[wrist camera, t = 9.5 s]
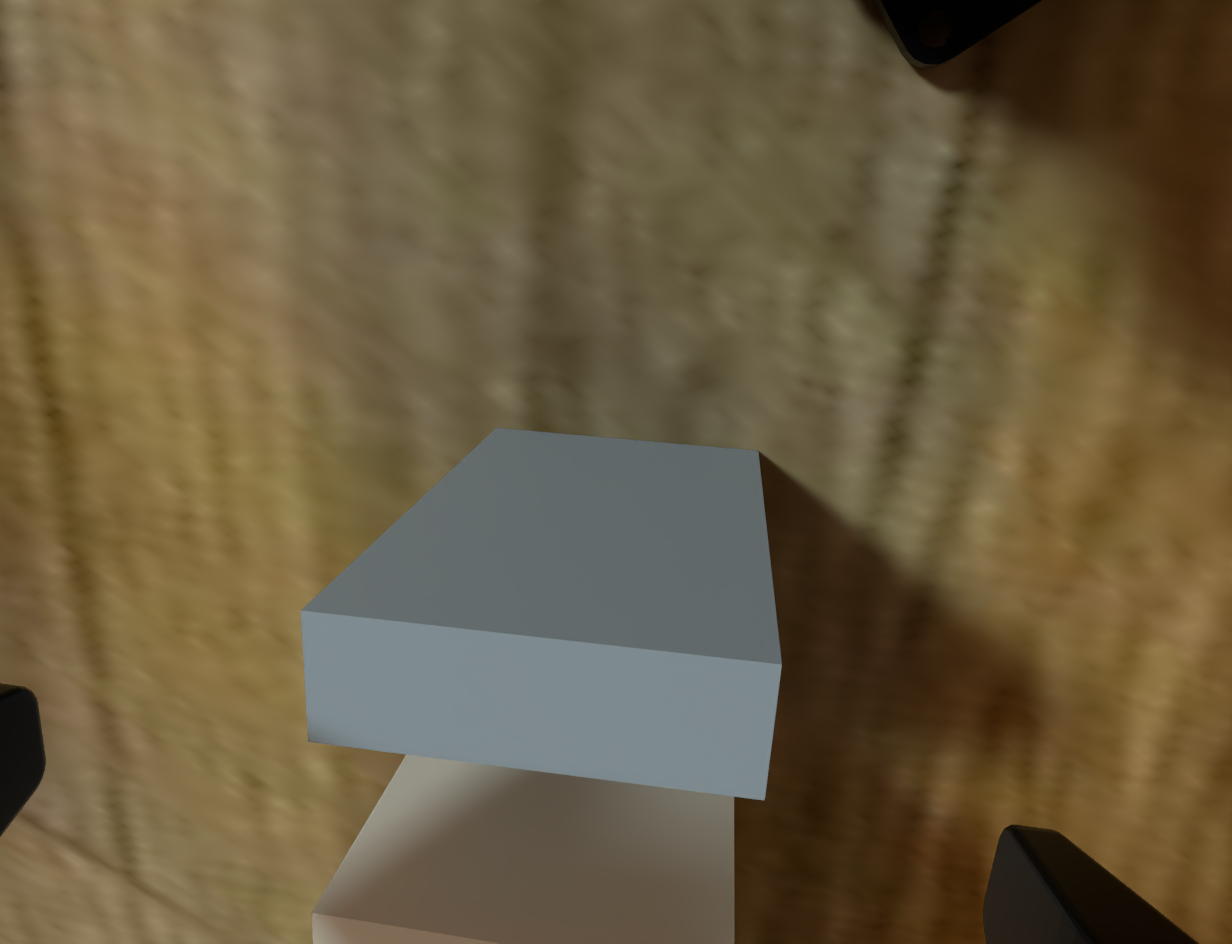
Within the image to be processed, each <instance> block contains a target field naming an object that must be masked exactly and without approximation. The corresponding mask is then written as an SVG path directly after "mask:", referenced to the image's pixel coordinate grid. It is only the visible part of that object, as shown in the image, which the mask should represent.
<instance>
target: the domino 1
mask: <svg viewBox="0 0 1232 944" xmlns="http://www.w3.org/2000/svg"><path fill="white" fill-rule="evenodd" d="M301 621H302V639H303V656H304V674H305V691H306V709H307V727H308V742H314V743H322V744H330V745H337V746H345V747H353V748H361V749H368V750H376V751H384V752H392V753H399V754H407V755H415V756H423V757H430V758H438V759H446V760H454V761H462V762H469V763H477V764H485V765H493V766H500V767H508V768H516V769H524V770H531V771H539V772H547V773H555V774H563V775H570V776H578V777H586V778H594V779H601V780H609V781H617V782H625V783H632V784H640V785H648V786H656V787H664V788H671V789H679V790H687V791H695V792H702V793H710V794H718V795H726V796H733V797H741V798H749V799H757V800H764V801H765V794H766V786H767V778H768V771H769V763H770V755H771V747H772V739H773V731H774V723H775V715H776V707H777V700H778V692H779V684H780V676H781V668H782V661H781V652H780V643H779V634H778V625H777V616H776V606H775V597H774V588H773V579H772V570H771V561H770V552H769V543H768V534H767V525H766V516H765V507H764V498H763V489H762V480H761V471H760V462H759V453H758V451H754V450H743V449H731V448H720V447H708V446H697V445H685V444H674V443H662V442H651V441H639V440H628V439H617V438H605V437H594V436H582V435H571V434H559V433H548V432H536V431H525V430H513V429H502V428H496V429H495V430H494V431H493V432H492V433H491V434H490V435H488V436H487V437H486V438H485V439H484V440H483V441H482V442H481V443H480V444H479V445H478V446H477V447H476V448H475V449H473V450H472V451H471V452H470V453H469V454H468V455H467V456H466V457H465V458H464V459H463V460H462V461H461V462H460V463H458V464H457V465H456V466H455V467H454V468H453V469H452V470H451V471H450V472H449V473H448V474H447V475H446V476H445V477H443V478H442V479H441V480H440V481H439V482H438V483H437V484H436V485H435V486H434V487H433V488H432V489H431V490H430V491H428V492H427V493H426V494H425V495H424V496H423V497H422V498H421V499H420V500H419V501H418V502H417V503H416V504H415V505H413V506H412V507H411V508H410V509H409V510H408V511H407V512H406V513H405V514H404V515H403V516H402V517H401V518H400V519H398V520H397V521H396V522H395V523H394V524H393V525H392V526H391V527H390V528H389V529H388V530H387V531H386V532H385V533H383V534H382V535H381V536H380V537H379V538H378V539H377V540H376V541H375V542H374V543H373V544H372V545H371V546H370V547H368V548H367V549H366V550H365V551H364V552H363V553H362V554H361V555H360V556H359V557H358V558H357V559H356V560H355V561H353V562H352V563H351V564H350V565H349V566H348V567H347V568H346V569H345V570H344V571H343V572H342V573H341V574H340V575H338V576H337V577H336V578H335V579H334V580H333V581H332V582H331V583H330V584H329V585H328V586H327V587H326V588H325V589H323V590H322V591H321V592H320V593H319V594H318V595H317V596H316V597H315V598H314V599H313V600H312V601H311V602H310V603H308V604H307V605H306V606H305V607H304V608H303V609H302V610H301Z"/></svg>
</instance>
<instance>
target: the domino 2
mask: <svg viewBox="0 0 1232 944" xmlns="http://www.w3.org/2000/svg"><path fill="white" fill-rule="evenodd" d="M312 931H313V944H734V797H733V796H726V795H718V794H710V793H702V792H695V791H687V790H679V789H671V788H664V787H656V786H648V785H640V784H632V783H625V782H617V781H609V780H601V779H594V778H586V777H578V776H570V775H563V774H555V773H547V772H539V771H531V770H524V769H516V768H508V767H500V766H493V765H485V764H477V763H469V762H462V761H454V760H446V759H438V758H430V757H423V756H415V755H407V754H406V756H405V758H404V759H403V761H402V763H401V765H400V766H399V768H398V770H397V771H396V773H395V775H394V776H393V778H392V780H391V781H390V783H389V785H388V786H387V788H386V790H385V791H384V793H383V795H382V796H381V798H380V800H379V801H378V803H377V805H376V806H375V808H374V810H373V811H372V813H371V815H370V816H369V818H368V820H367V821H366V823H365V825H364V826H363V828H362V830H361V831H360V833H359V835H358V836H357V838H356V840H355V841H354V843H353V845H352V846H351V848H350V850H349V851H348V853H347V855H346V856H345V858H344V860H343V861H342V863H341V865H340V866H339V868H338V870H337V871H336V873H335V875H334V876H333V878H332V880H331V881H330V883H329V885H328V886H327V888H326V890H325V891H324V893H323V895H322V896H321V898H320V900H319V901H318V903H317V905H316V906H315V908H314V910H313V911H312Z"/></svg>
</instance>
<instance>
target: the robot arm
mask: <svg viewBox="0 0 1232 944" xmlns="http://www.w3.org/2000/svg"><path fill="white" fill-rule="evenodd" d="M873 1H874V3H875V5H876V7H877V8H878V10H879V12H880V14H881V16H882V18H883V20H884V22H885V24H886V26H887V28H888V29H889V31H890V33H891V35H892V37H893V39H894V41H895V43H896V45H897V47H898V48H899V50H900V52H901V54H902V55H903V56H904V58H905V59H906V60H907V61H908V62H909V63H910V64H912V65H914V66H916V67H918V68H935V67H938V66H940V65H942V64H945V63H947V62H948V61H950V60H951V59H953V58H954V57H956V56H957V55H959V54H960V53H962V52H963V51H965V50H966V49H968V48H970V47H971V46H973V45H974V44H976V43H977V42H979V41H980V40H982V39H983V38H985V37H986V36H988V35H989V34H991V33H992V32H994V31H996V30H997V29H999V28H1000V27H1002V26H1003V25H1005V24H1006V23H1008V22H1009V21H1011V20H1012V19H1014V18H1015V17H1017V16H1019V15H1020V14H1022V13H1023V12H1025V11H1026V10H1028V9H1029V8H1031V7H1032V6H1034V5H1035V4H1037V3H1038V2H1040V1H1042V0H873ZM930 16H933V17H938V18H941V20H942V21H943V22H944V23H945V24H946V27H947V32H948V34H947V37H946V40H945V43H944V44H943V45H942V46H940V47H937V48H933V47H928V46H926V45H925V44H924V43H923V42H922V41H921V40H920V35H919V27H920V24H921V21H922V20H923V19H925V18H927V17H930ZM45 765H46V757H45V750H44V743H43V736H42V729H41V721H40V714H39V707H38V702H37V698H36V697H35V695H34V694H33V692H32V691H31V690H29V689H27V688H26V687H22V686H15V685H8V684H1V683H0V836H1V835H2V834H3V833H4V831H5V830H6V829H7V827H8V826H9V825H10V823H11V822H12V821H13V819H14V818H15V817H16V815H17V814H18V813H19V812H20V810H21V809H22V808H23V806H24V805H25V804H26V802H27V801H28V800H29V798H30V797H31V796H32V794H33V793H34V792H35V790H36V789H37V787H38V786H39V784H40V782H41V780H42V777H43V774H44V771H45ZM983 923H984V932H985V937H986V943H987V944H1199V943H1198V942H1197V941H1195V940H1194V939H1193V938H1191V937H1190V936H1189V935H1188V934H1186V933H1185V932H1184V931H1183V930H1181V929H1180V928H1179V927H1178V926H1176V925H1175V924H1174V923H1173V922H1171V921H1170V920H1169V919H1168V918H1166V917H1165V916H1164V915H1163V914H1161V913H1160V912H1159V911H1158V910H1156V909H1155V908H1154V907H1153V906H1151V905H1150V904H1149V903H1148V902H1146V901H1145V900H1144V899H1143V898H1141V897H1140V896H1139V895H1137V894H1136V893H1135V892H1134V891H1132V890H1131V889H1130V888H1129V887H1127V886H1126V885H1125V884H1124V883H1122V882H1121V881H1120V880H1119V879H1117V878H1116V877H1115V876H1114V875H1112V874H1111V873H1110V872H1109V871H1107V870H1106V869H1105V868H1104V867H1102V866H1101V865H1100V864H1099V863H1097V862H1096V861H1095V860H1094V859H1092V858H1091V857H1090V856H1089V855H1087V854H1086V853H1085V852H1084V851H1082V850H1081V849H1080V848H1078V847H1077V846H1076V845H1075V844H1073V843H1072V842H1071V841H1070V840H1068V839H1067V838H1066V837H1065V836H1063V835H1062V834H1060V833H1059V832H1057V831H1054V830H1051V829H1043V828H1036V827H1029V826H1021V825H1010V826H1008V827H1006V828H1005V829H1004V830H1003V832H1002V834H1001V836H1000V838H999V842H998V846H997V850H996V854H995V858H994V862H993V866H992V871H991V875H990V879H989V883H988V887H987V891H986V895H985V900H984V908H983Z"/></svg>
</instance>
